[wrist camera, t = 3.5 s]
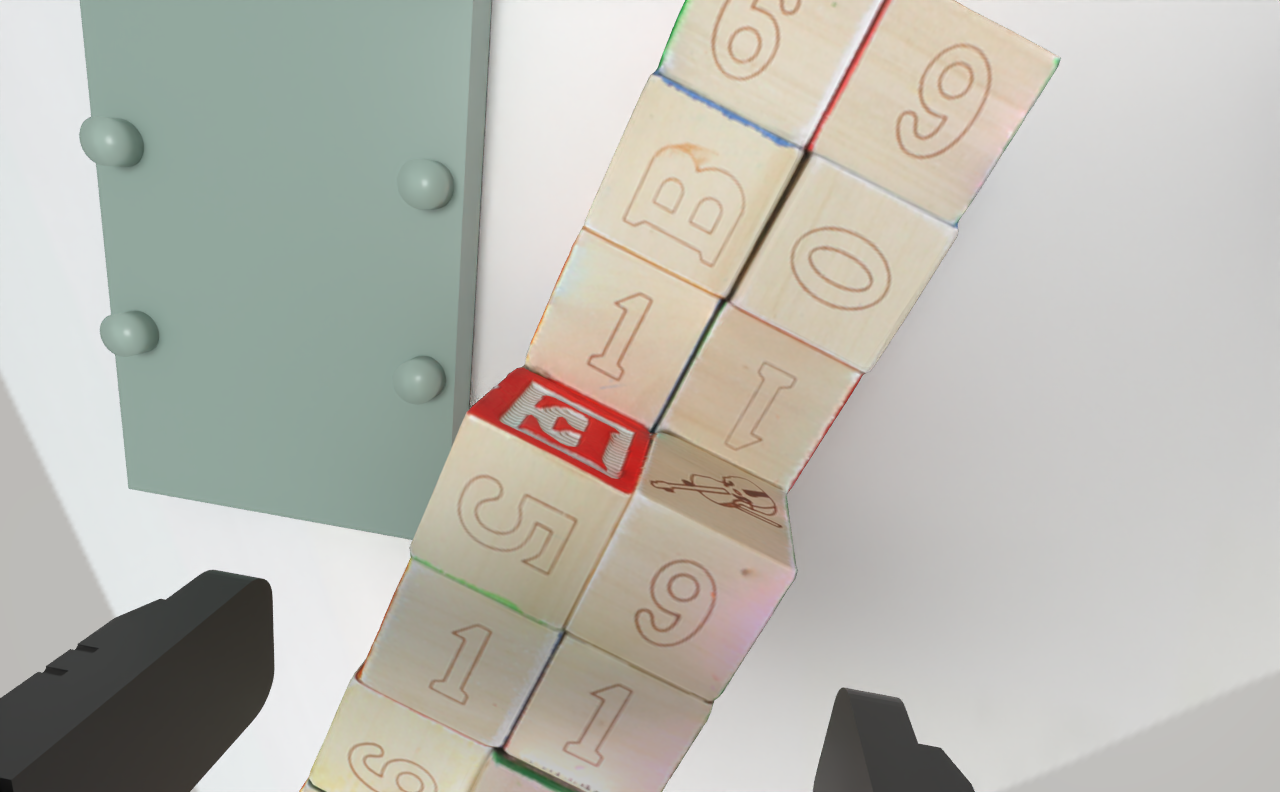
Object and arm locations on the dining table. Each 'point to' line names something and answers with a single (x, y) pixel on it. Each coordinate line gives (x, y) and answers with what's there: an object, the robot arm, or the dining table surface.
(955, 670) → the dining table surface
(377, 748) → the stack of blocks
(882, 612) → the dining table surface
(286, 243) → the baseplate
